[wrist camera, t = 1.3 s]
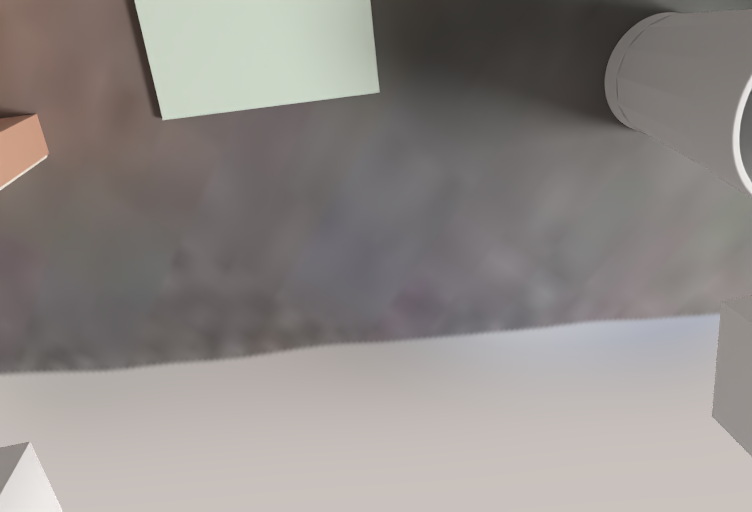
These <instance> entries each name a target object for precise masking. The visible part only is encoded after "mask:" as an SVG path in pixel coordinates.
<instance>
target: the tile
mask: <svg viewBox="0 0 752 512" xmlns="http://www.w3.org/2000/svg"><path fill="white" fill-rule="evenodd" d="M48 154H49V152H48V149H47V145H46V142H45V139H44V136H43V133H42V130H41V126H40V123H39V120H38V117H37V114H32V115H24V116H16V117H8V118H0V190H1V189H3V188H4V187H6V186H7V185H9V184H10V183H11V182H13V181H14V180H16V179H17V178H18V177H20V176H21V175H23V174H24V173H25V172H27V171H28V170H30V169H31V168H33V167H34V166H35V165H37V164H38V163H40V162H41V161H42V160H44V159H45V158H47V155H48Z"/></svg>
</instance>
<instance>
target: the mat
mask: <svg viewBox="0 0 752 512" xmlns="http://www.w3.org/2000/svg"><path fill="white" fill-rule="evenodd" d="M134 1H135V5H136V9H137V13H138V17H139V22H140V26H141V30H142V34H143V39H144V43H145V47H146V51H147V55H148V60H149V64H150V68H151V72H152V76H153V81H154V85H155V89H156V93H157V97H158V102H159V106H160V110H161V114H162V118H163V120H168V119H176V118H183V117H191V116H199V115H207V114H215V113H223V112H230V111H238V110H246V109H254V108H262V107H269V106H277V105H285V104H293V103H301V102H309V101H316V100H324V99H332V98H340V97H348V96H356V95H363V94H371V93H379V83H378V73H377V63H376V53H375V43H374V33H373V23H372V13H371V3H370V0H134Z"/></svg>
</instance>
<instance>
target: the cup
mask: <svg viewBox="0 0 752 512" xmlns="http://www.w3.org/2000/svg"><path fill="white" fill-rule="evenodd" d="M605 94H606V99H607V102H608V105H609V107H610V109H611V111H612V112H613V114H614V115H615V116H616V118H617V119H618V120H619V121H620V122H622V123H623V124H624V125H626V126H628V127H629V128H632V129H634V130H637V131H639V132H642V133H644V134H647V135H650V136H651V137H653V138H655V139H657V140H658V141H660V142H662V143H663V144H665V145H667V146H669V147H670V148H672V149H674V150H676V151H677V152H679V153H681V154H683V155H684V156H686V157H688V158H690V159H691V160H693V161H695V162H697V163H698V164H700V165H702V166H704V167H705V168H707V169H708V170H709V171H710V172H712V173H713V174H714V175H715V176H717V177H719V178H720V179H722V180H723V181H725V182H727V183H728V184H730V185H732V186H733V187H735V188H737V189H738V190H740V191H741V192H743V193H745V194H746V195H748V196H750V197H751V198H752V9H743V10H729V11H715V12H701V13H677V12H666V13H659V14H655V15H652V16H650V17H647V18H645V19H643V20H642V21H640V22H638V23H637V24H636V25H634V26H633V27H632V28H631V29H629V30H628V31H627V32H626V33H625V34H624V36H623V37H622V38H621V39H620V41H619V42H618V43H617V45H616V47H615V48H614V50H613V52H612V54H611V56H610V59H609V61H608V64H607V68H606V73H605Z"/></svg>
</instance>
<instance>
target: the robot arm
mask: <svg viewBox="0 0 752 512" xmlns="http://www.w3.org/2000/svg"><path fill="white" fill-rule="evenodd" d="M712 416H713V418H714V419H715V420H716V421H717V422H718V423H719V424H720V425H721V426H722V427H723V428H724V429H725V430H726V431H727V432H728V433H729V434H730V435H731V436H732V437H733V438H734V439H735V440H736V441H737V442H738V443H739V444H740V445H741V446H742V447H743V448H744V449H745V450H746V451H747V452H748V453H749V454H750V455H751V456H752V295H751V296H746V297H741V298H736V299H731V300H726V301H721V313H720V325H719V339H718V350H717V362H716V374H715V386H714V399H713V411H712ZM0 512H63V511H62V509H61V506H60V504H59V502H58V501H57V498H56V496H55V494H54V492H53V490H52V488H51V485H50V483H49V481H48V479H47V477H46V475H45V473H44V471H43V469H42V466H41V464H40V462H39V460H38V458H37V456H36V454H35V451H34V449H33V447H32V445H31V443H30V442H26V443H22V444H16V445H11V446H7V447H1V448H0Z"/></svg>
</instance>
